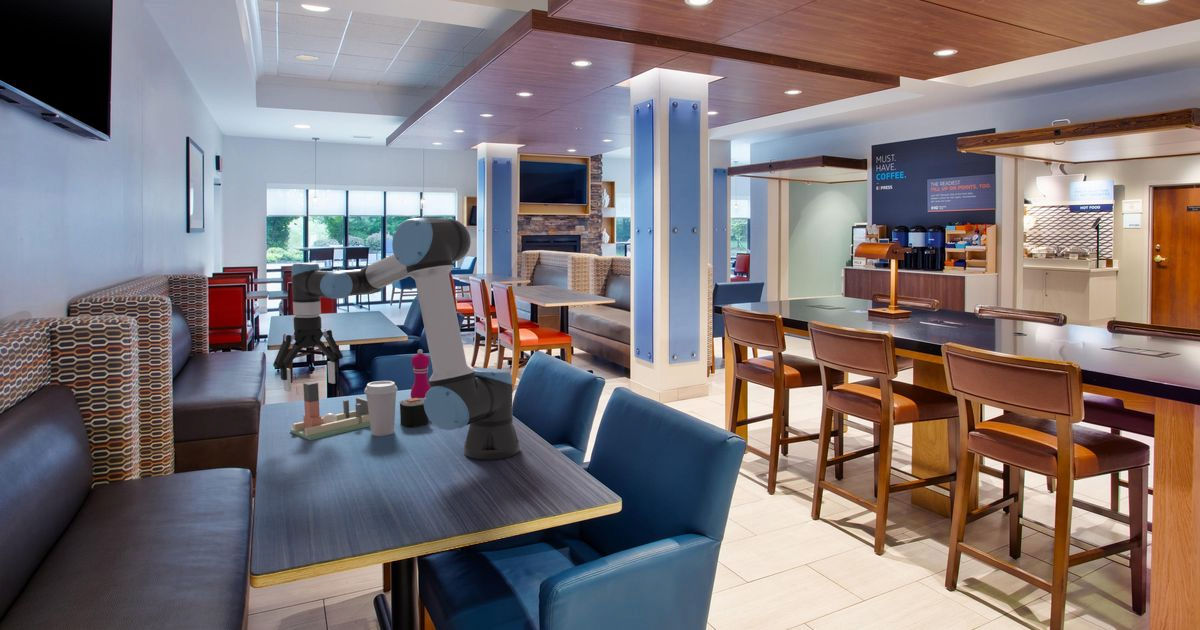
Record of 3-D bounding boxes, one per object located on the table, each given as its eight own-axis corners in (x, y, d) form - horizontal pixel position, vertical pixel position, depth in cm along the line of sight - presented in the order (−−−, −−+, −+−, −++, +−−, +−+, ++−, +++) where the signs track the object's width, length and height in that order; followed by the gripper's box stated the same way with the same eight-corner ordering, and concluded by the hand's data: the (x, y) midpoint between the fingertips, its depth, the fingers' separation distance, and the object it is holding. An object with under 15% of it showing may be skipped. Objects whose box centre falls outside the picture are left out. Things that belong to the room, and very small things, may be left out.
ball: (339, 425, 217) (339, 413, 217) (327, 428, 214) (326, 415, 214) (333, 423, 220) (332, 410, 219) (320, 426, 217) (320, 413, 216)
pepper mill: (410, 405, 246) (408, 347, 244) (431, 403, 248) (430, 346, 246) (411, 410, 239) (409, 351, 237) (433, 408, 242) (431, 350, 239)
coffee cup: (404, 428, 218) (402, 380, 216) (391, 438, 209) (390, 387, 207) (373, 427, 219) (372, 379, 217) (360, 436, 210) (358, 387, 208)
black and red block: (321, 429, 212) (319, 383, 210) (312, 431, 210) (310, 385, 208) (313, 426, 215) (311, 381, 214) (304, 428, 213) (301, 382, 211)
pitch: (377, 424, 223) (376, 402, 222) (310, 440, 206) (309, 416, 205) (357, 417, 230) (356, 396, 229) (290, 432, 214) (289, 409, 213)
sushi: (432, 424, 223) (431, 399, 222) (407, 429, 218) (406, 403, 217) (421, 418, 229) (420, 394, 228) (396, 423, 224) (395, 398, 223)
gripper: (340, 310, 220) (342, 378, 223) (258, 318, 201) (262, 391, 204) (353, 313, 215) (355, 381, 218) (270, 321, 197) (274, 396, 199)
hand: (310, 386), depth 211 cm, fingers open, 13 cm apart
